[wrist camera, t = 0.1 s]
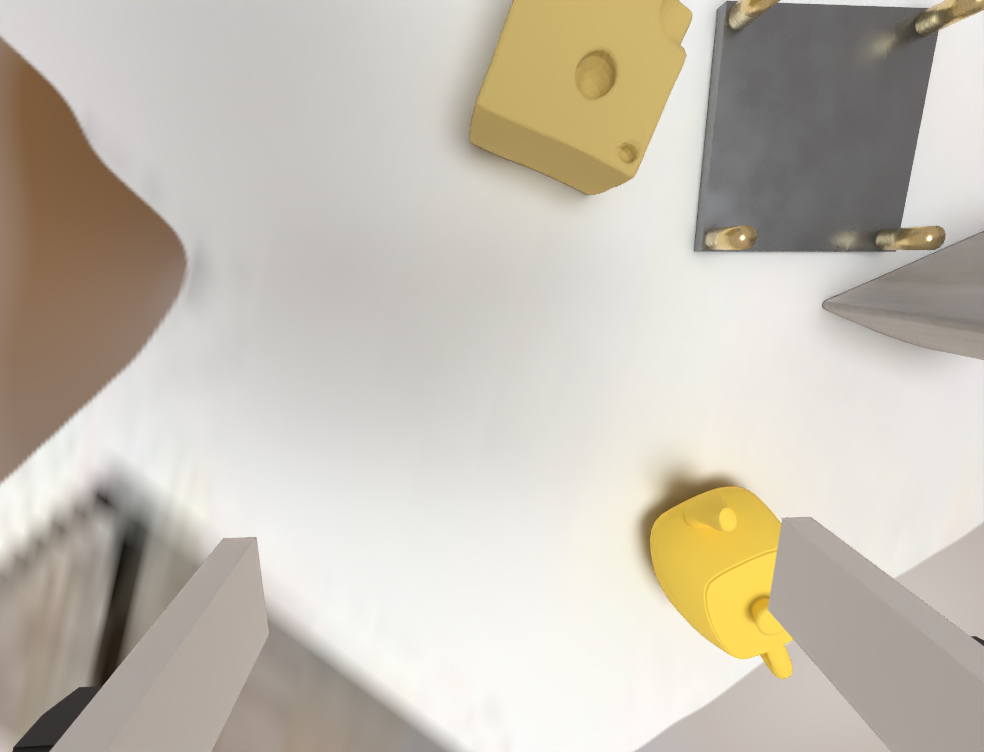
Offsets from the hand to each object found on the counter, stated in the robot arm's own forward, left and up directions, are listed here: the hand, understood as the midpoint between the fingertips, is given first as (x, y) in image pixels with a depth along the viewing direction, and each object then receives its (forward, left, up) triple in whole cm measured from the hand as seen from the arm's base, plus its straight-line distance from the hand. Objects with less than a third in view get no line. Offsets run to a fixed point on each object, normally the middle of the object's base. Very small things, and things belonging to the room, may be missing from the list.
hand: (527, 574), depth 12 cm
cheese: (-18, +6, -28) cm, 34 cm away
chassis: (-16, +25, -28) cm, 41 cm away
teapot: (+17, +20, -28) cm, 38 cm away
